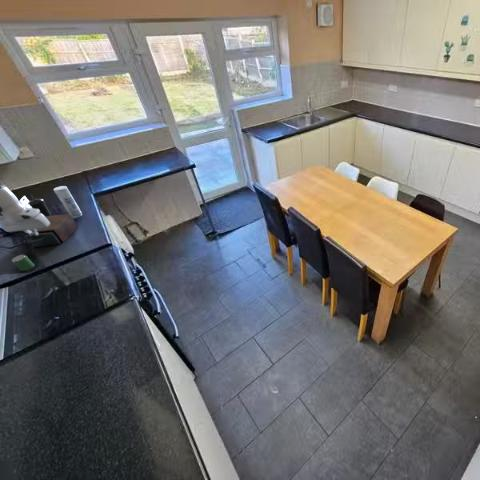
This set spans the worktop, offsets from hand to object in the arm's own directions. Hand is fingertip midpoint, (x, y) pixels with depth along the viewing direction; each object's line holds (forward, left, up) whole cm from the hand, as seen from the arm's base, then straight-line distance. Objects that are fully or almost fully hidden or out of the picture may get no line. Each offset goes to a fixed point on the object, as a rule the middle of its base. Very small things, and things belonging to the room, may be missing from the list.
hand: (35, 235), depth 149 cm
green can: (+2, -18, -10) cm, 20 cm away
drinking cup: (-16, +32, -10) cm, 37 cm away
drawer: (0, +7, -9) cm, 11 cm away
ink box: (-28, +36, -10) cm, 47 cm away
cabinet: (0, +12, -10) cm, 15 cm away
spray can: (0, +34, -10) cm, 35 cm away
